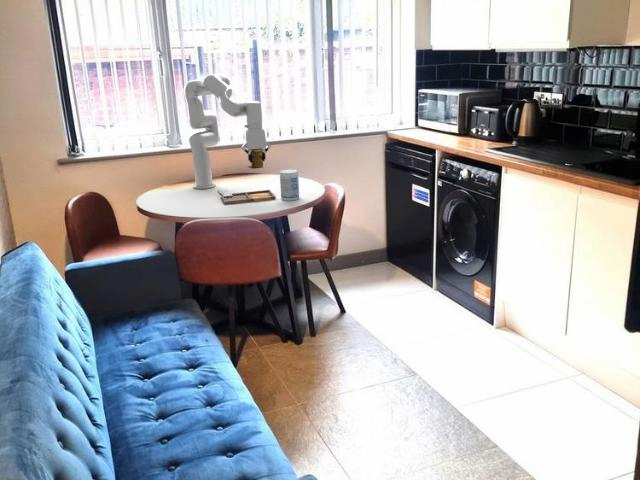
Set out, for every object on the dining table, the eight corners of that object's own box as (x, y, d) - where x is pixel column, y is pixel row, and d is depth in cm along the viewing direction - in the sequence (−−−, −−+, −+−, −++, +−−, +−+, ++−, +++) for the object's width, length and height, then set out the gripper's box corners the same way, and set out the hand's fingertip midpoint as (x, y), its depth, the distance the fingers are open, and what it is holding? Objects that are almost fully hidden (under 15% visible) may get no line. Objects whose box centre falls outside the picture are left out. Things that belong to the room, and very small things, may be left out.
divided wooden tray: (221, 197, 316) (221, 194, 315) (269, 192, 322) (269, 189, 322) (224, 204, 301) (224, 202, 300) (275, 199, 307) (275, 196, 307)
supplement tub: (295, 201, 301) (294, 173, 297) (278, 201, 304) (276, 173, 299) (302, 197, 310) (300, 169, 305) (285, 196, 313) (283, 169, 308)
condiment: (266, 167, 307) (264, 144, 303) (251, 169, 303) (250, 146, 299) (259, 165, 313) (258, 142, 309) (245, 167, 309) (243, 144, 305)
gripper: (238, 128, 296) (241, 164, 302) (272, 126, 300) (274, 161, 306) (236, 126, 303) (239, 161, 308) (270, 124, 307) (272, 158, 313)
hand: (257, 161), depth 307 cm, fingers closed on condiment, 6 cm apart
